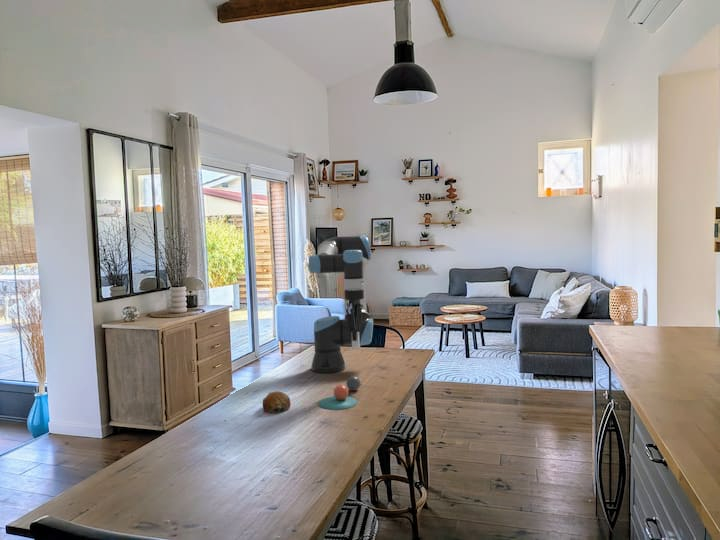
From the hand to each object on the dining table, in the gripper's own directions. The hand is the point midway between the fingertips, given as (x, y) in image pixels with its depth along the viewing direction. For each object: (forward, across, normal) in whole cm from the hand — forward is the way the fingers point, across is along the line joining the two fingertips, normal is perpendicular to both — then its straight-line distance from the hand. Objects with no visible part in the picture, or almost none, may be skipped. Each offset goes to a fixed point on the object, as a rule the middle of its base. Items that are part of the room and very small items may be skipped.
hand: (355, 348), depth 210 cm
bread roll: (+16, -32, +19) cm, 41 cm away
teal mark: (+15, -21, 0) cm, 26 cm away
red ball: (+13, -17, 0) cm, 22 cm away
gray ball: (+13, -6, 0) cm, 14 cm away
